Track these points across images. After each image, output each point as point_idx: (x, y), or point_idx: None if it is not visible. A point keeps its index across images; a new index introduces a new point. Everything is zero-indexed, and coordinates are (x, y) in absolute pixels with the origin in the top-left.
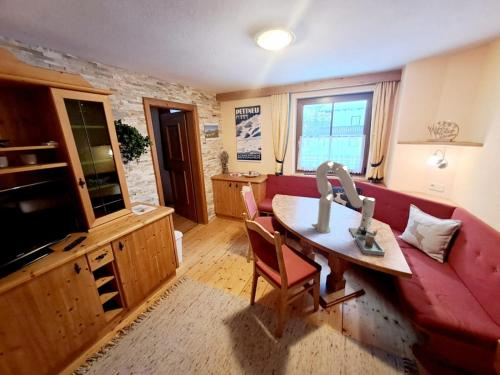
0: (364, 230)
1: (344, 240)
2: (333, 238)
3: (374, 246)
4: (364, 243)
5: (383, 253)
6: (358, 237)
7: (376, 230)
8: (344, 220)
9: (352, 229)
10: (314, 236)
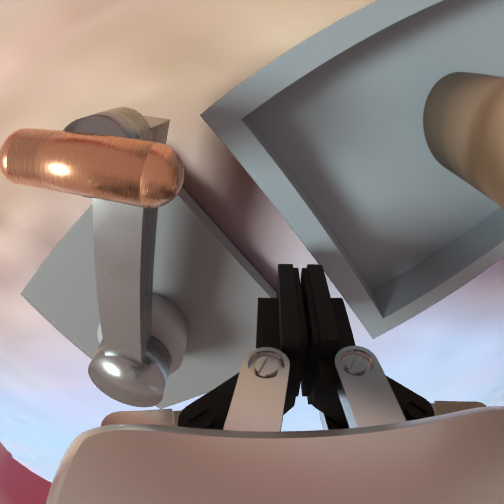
0: (379, 375)
1: (443, 348)
2: (445, 395)
3: (430, 48)
4: (439, 185)
5: None
6: (373, 301)
7: (46, 155)
8: (71, 423)
9: None
10: None
